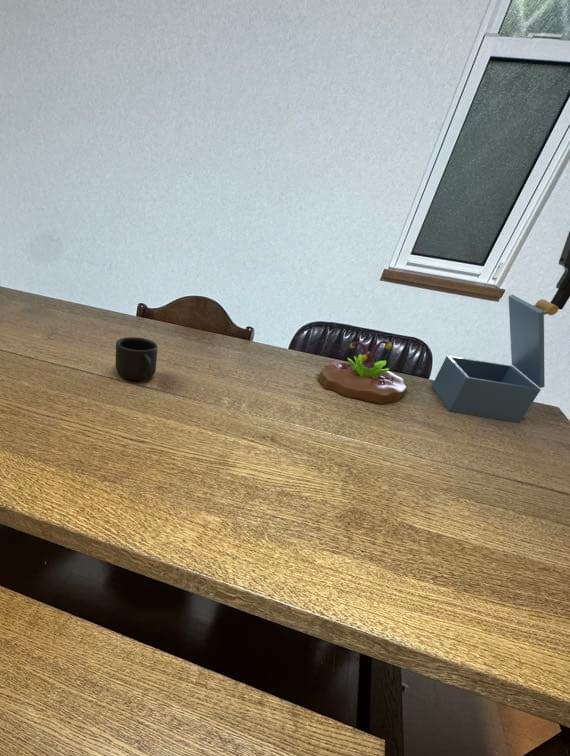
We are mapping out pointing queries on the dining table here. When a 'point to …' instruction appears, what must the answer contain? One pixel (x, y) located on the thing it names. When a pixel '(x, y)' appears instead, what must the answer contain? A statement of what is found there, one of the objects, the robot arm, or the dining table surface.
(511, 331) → the lid
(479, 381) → the chest
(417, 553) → the dining table surface
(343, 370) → the plant
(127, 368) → the mug
